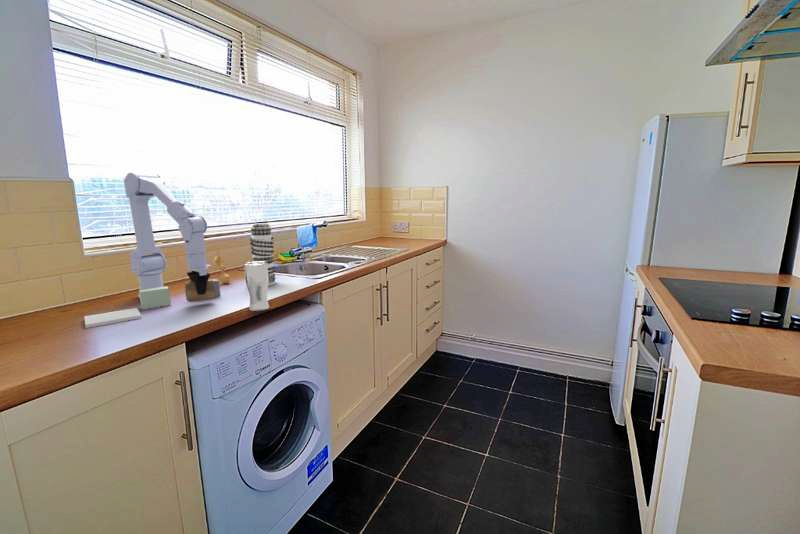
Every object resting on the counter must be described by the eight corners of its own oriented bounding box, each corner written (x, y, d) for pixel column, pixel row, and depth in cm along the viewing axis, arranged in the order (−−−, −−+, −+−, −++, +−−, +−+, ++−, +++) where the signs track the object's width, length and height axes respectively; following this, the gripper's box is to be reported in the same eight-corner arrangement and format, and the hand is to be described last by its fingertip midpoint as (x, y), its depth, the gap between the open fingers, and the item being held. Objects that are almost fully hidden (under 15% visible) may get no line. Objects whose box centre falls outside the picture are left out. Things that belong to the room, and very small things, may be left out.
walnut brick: (186, 299, 126) (184, 282, 125) (212, 295, 131) (210, 278, 130) (188, 302, 123) (186, 284, 122) (215, 297, 129) (213, 280, 127)
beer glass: (264, 304, 127) (261, 260, 125) (274, 308, 122) (271, 263, 120) (244, 308, 123) (240, 263, 120) (253, 313, 118) (249, 266, 115)
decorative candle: (261, 280, 163) (256, 222, 158) (280, 281, 161) (276, 222, 156) (248, 285, 154) (243, 224, 149) (269, 286, 152) (264, 224, 148)
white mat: (84, 319, 113) (84, 316, 113) (137, 310, 121) (136, 307, 121) (85, 328, 105) (85, 324, 105) (141, 318, 114) (140, 315, 113)
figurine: (225, 285, 154) (222, 256, 152) (211, 285, 154) (208, 256, 152) (235, 281, 162) (232, 253, 160) (222, 281, 162) (219, 253, 160)
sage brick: (141, 307, 125) (138, 290, 124) (169, 303, 130) (166, 286, 129) (142, 310, 122) (140, 292, 121) (170, 305, 127) (168, 288, 126)
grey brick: (194, 298, 136) (192, 282, 135) (217, 294, 141) (216, 278, 140) (196, 300, 133) (194, 283, 132) (220, 296, 138) (218, 280, 137)
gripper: (215, 254, 122) (219, 295, 124) (203, 249, 132) (207, 287, 135) (190, 256, 117) (195, 299, 120) (180, 251, 128) (185, 290, 130)
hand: (200, 293), depth 127 cm, fingers closed on walnut brick, 3 cm apart
